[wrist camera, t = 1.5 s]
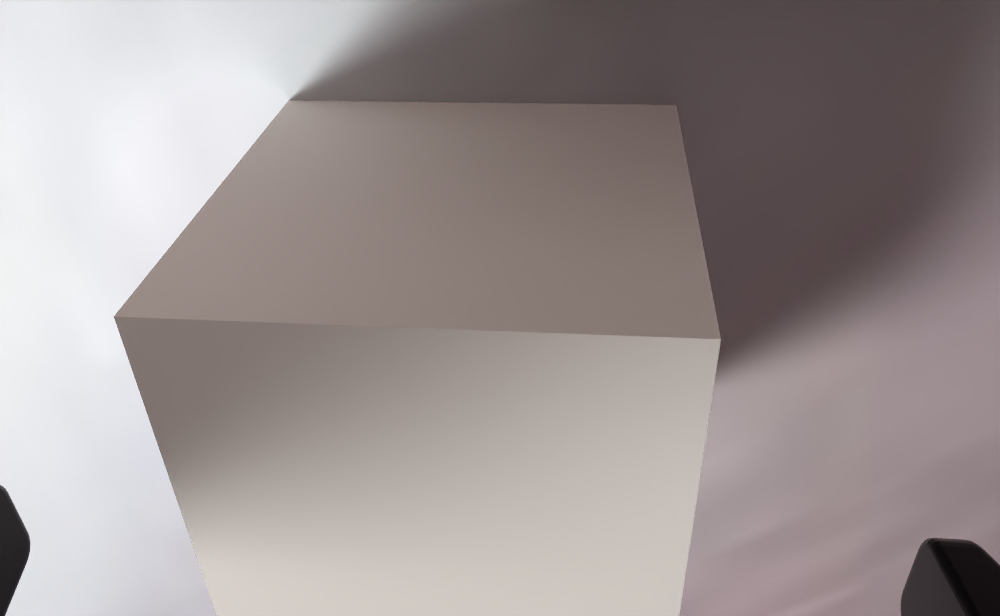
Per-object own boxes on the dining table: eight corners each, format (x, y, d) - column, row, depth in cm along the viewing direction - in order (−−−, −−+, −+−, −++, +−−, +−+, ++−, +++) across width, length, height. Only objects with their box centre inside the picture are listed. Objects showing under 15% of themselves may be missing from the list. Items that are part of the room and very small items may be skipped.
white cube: (675, 102, 11) (721, 338, 7) (647, 404, 14) (665, 698, 10) (290, 97, 11) (113, 316, 7) (340, 389, 14) (234, 665, 10)
